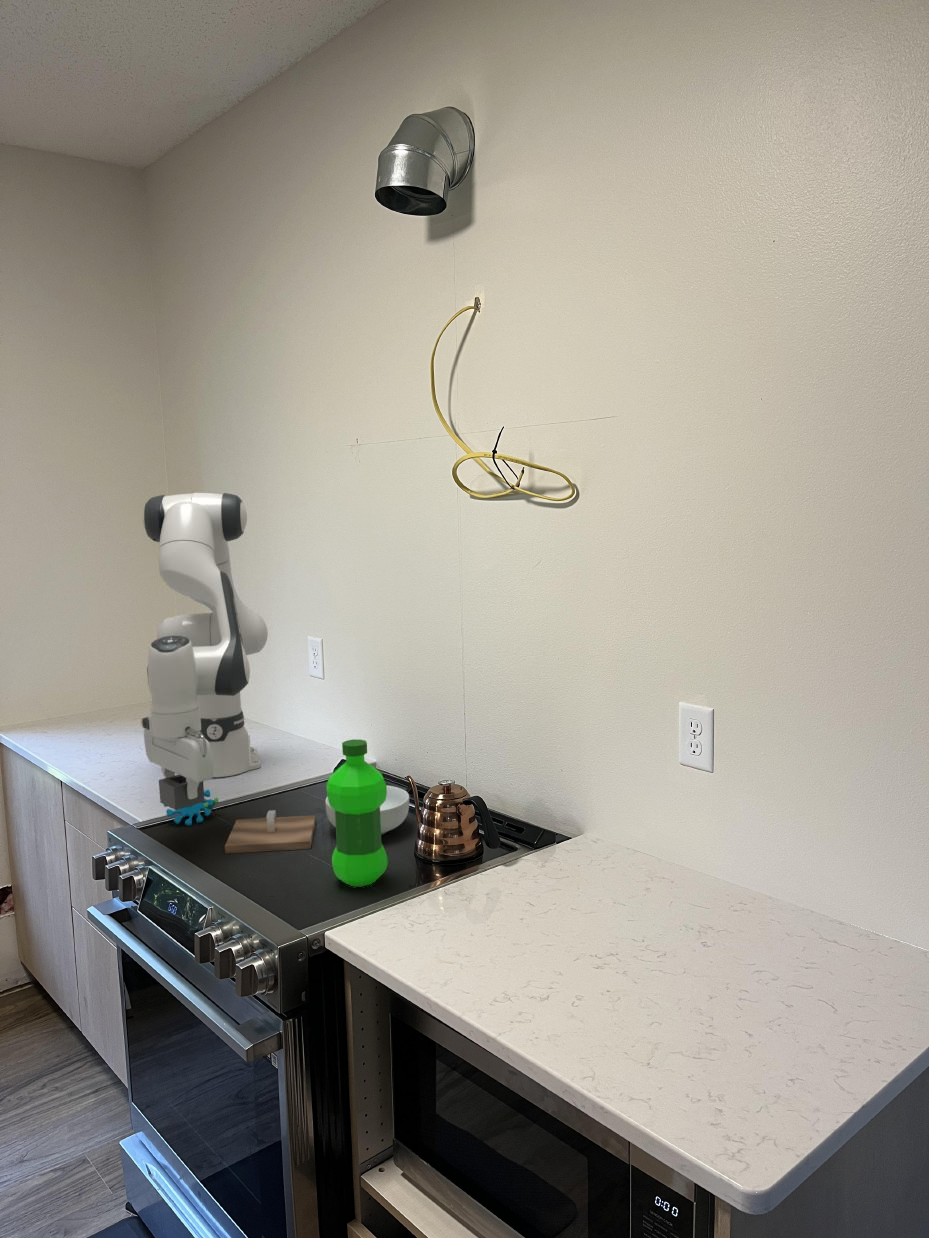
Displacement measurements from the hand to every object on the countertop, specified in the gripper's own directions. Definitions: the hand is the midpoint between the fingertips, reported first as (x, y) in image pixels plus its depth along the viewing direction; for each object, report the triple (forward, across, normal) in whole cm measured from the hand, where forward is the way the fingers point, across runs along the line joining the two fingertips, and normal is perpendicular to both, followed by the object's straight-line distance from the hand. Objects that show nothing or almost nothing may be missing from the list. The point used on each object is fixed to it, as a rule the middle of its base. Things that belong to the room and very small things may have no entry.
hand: (181, 793), depth 175 cm
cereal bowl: (+12, -19, -30) cm, 37 cm away
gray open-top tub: (+2, 0, 0) cm, 2 cm away
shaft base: (+11, -8, -14) cm, 20 cm away
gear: (+12, +14, -9) cm, 20 cm away
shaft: (+10, -8, -15) cm, 19 cm away
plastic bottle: (+11, -37, -14) cm, 41 cm away
